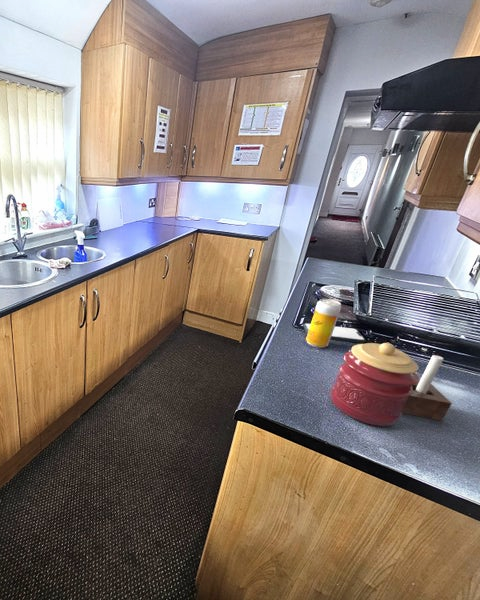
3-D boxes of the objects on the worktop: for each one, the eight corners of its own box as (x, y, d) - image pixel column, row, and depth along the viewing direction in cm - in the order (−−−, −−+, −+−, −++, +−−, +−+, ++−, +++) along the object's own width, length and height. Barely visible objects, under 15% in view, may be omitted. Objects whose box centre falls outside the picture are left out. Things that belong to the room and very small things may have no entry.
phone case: (308, 338, 111) (365, 345, 106) (309, 333, 110) (367, 340, 105) (301, 326, 119) (354, 332, 114) (302, 322, 118) (356, 328, 113)
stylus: (415, 405, 79) (440, 355, 74) (419, 409, 78) (445, 360, 73) (406, 403, 80) (430, 354, 75) (410, 408, 78) (435, 358, 73)
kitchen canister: (326, 383, 86) (348, 324, 79) (390, 400, 80) (419, 338, 73) (331, 414, 76) (356, 350, 69) (405, 436, 70) (441, 368, 63)
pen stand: (422, 400, 81) (431, 383, 79) (442, 420, 75) (452, 403, 73) (385, 393, 83) (392, 377, 82) (401, 412, 77) (409, 395, 75)
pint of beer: (305, 337, 110) (318, 296, 104) (327, 342, 107) (342, 300, 101) (304, 345, 106) (318, 303, 100) (327, 350, 103) (342, 307, 97)
